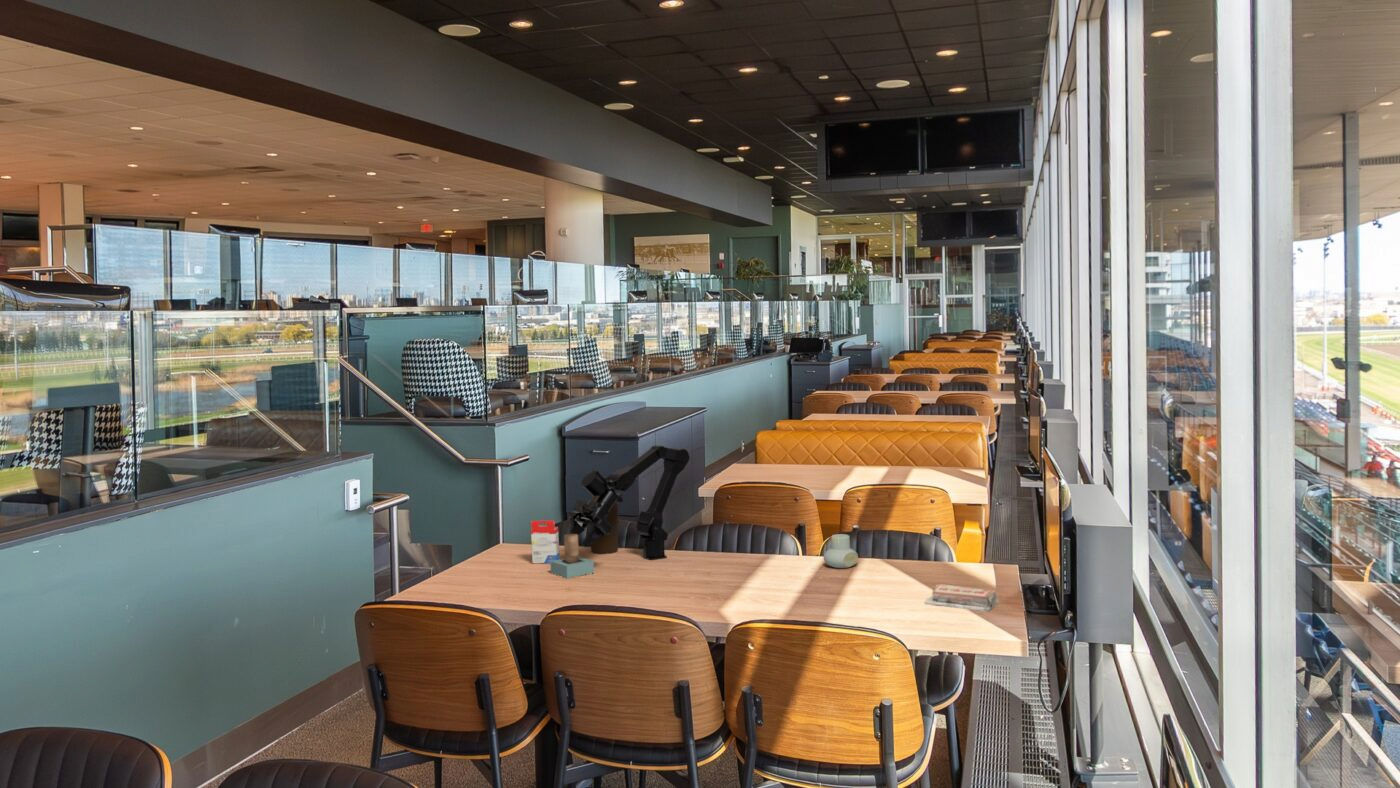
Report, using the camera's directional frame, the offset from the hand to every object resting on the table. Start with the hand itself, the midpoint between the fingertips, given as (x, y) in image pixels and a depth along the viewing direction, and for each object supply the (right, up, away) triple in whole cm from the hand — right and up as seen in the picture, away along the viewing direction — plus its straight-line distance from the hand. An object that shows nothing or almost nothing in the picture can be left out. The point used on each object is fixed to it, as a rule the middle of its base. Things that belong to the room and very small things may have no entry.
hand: (575, 543), depth 343 cm
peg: (-1, -10, 0) cm, 10 cm away
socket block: (-1, -10, 0) cm, 10 cm away
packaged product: (+112, -10, -50) cm, 123 cm away
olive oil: (+6, -7, +32) cm, 34 cm away
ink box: (-12, -9, +17) cm, 23 cm away
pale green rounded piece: (+85, -7, -1) cm, 86 cm away
